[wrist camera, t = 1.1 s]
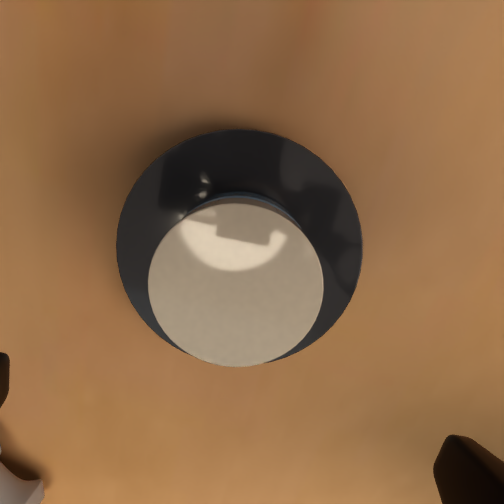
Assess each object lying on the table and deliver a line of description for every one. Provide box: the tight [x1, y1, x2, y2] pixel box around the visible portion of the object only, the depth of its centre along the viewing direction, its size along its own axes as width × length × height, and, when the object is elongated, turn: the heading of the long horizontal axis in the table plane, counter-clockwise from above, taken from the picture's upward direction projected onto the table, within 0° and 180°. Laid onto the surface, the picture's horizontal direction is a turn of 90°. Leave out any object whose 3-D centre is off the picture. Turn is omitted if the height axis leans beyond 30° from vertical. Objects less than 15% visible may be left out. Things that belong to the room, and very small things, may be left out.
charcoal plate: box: [116, 129, 363, 363], centre depth 19 cm, size 13×13×1 cm
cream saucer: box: [148, 198, 324, 367], centre depth 15 cm, size 7×7×2 cm
